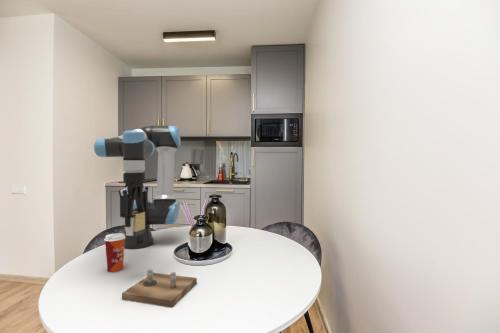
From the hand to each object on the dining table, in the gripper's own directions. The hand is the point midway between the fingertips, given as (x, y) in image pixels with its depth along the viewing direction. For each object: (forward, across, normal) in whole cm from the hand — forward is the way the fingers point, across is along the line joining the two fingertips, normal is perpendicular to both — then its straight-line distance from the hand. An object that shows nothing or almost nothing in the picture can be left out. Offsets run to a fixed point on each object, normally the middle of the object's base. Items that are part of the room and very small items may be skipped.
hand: (135, 233), depth 99 cm
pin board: (+17, +7, +16) cm, 24 cm away
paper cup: (+17, -4, -13) cm, 22 cm away
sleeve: (0, 0, 0) cm, 0 cm away
